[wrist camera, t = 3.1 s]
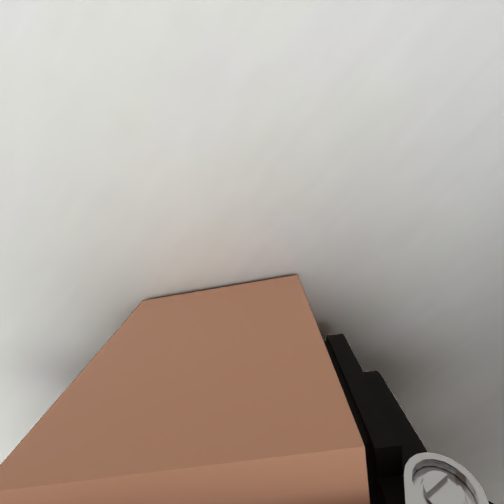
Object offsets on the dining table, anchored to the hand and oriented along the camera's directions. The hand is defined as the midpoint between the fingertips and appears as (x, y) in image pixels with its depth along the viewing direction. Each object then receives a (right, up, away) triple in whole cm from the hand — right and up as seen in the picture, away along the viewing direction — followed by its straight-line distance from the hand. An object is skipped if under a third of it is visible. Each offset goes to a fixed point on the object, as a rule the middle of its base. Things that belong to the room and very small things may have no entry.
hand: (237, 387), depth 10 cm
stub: (0, 0, +1) cm, 1 cm away
